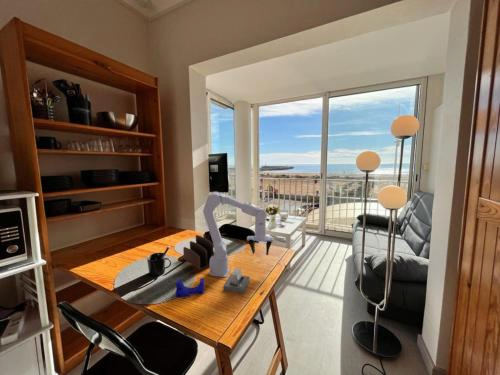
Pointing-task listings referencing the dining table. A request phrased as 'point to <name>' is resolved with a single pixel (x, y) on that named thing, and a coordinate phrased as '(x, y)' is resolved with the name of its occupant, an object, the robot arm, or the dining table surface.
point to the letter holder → (199, 252)
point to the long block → (236, 277)
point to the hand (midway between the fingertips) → (260, 253)
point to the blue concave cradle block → (189, 289)
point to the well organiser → (240, 289)
